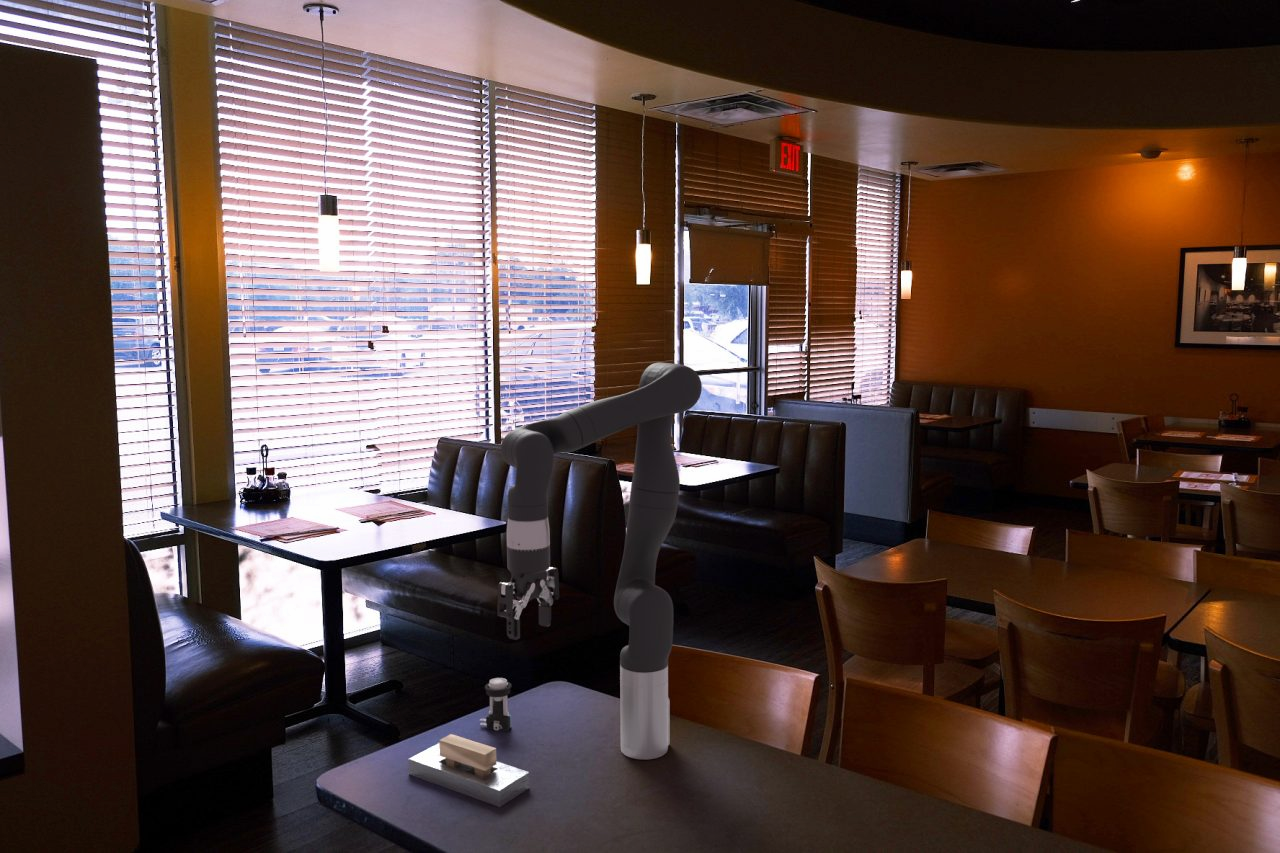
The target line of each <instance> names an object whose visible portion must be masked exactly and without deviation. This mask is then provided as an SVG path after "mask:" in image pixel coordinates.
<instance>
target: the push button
mask: <svg viewBox="0 0 1280 853" xmlns="http://www.w3.org/2000/svg"><path fill="white" fill-rule="evenodd" d="M511 689H512V683H511V682H509V681H508V679H506V678H503V677H495V678H491V679H489V682H487V683H486V684H485V686H484V690H485V692H486V695H487V696H489V711H488V715H487V716H486V717H485V718H480V719H479V722H480V721H482V722H481V723H480V724H479V725H481V726H486V729H488V730H494V731H503V732H508V731H509V730H510V728H511V727H512V715H511V714H510V712H509V711H508V695H509V694H511Z"/></svg>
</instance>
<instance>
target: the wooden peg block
mask: <svg viewBox="0 0 1280 853" xmlns="http://www.w3.org/2000/svg"><path fill="white" fill-rule="evenodd" d="M438 741H439V742H438V743H440V756H442V757H445V758H446V765H448V766H451V767H456V766H458V765H460V764H462V763H463V764H466V765H469V766H472V767H475V775H477V776H480V777H483V778H484V777H485V776H487V775H489V774H490V773H491V767H493V766H494V765H496V764H497V763H496V761H497V747H493V746H490V745H487V744H483V743H481V742H477V741H474V740H471V739H468V738H465V737H462V736H458V735H456V734H452V733H450V734H448V735H446V736H445V737H442V738H440V739H439V740H438Z"/></svg>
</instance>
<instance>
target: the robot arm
mask: <svg viewBox="0 0 1280 853" xmlns="http://www.w3.org/2000/svg"><path fill="white" fill-rule="evenodd" d="M702 387H703V384H702V380H701V378H700V376H699V374H698V373H697V372H696V371H695V369H693V368H691V367H690V366H687V365H684V364H681V363H680V364H679V363H671V362H654V363H652V364H649V366H647V367H646V368H645V370H644V371H643V373H642V374H641V376H640V380H639V385H638V388H637V389H635V390H632V391H629V392H626V393H623V394H620V395H614V396H611V397H610V396H609V397H607V398H601V399H597V400H594V401H591V402H587V403H585V404H582V405H580V406H577V407H574V408H572V409H569V410H567V411H565V412H563V413H561V414H559V415H557V416H554V417H551V418H548V419H542V420H539V421H536V422H532V423H528V424H524V425H522V426H520V427H517V428H515V429H513V430H511V431H509V433H507V434H506V435H505V436H504V437H503V439H502V441H501V444H500V455H501V457H502V459H503V461H504V462H505V463H506V464H507V465H509V466H511V467H512V468H514V469H516V471H515V472H516V473H515V481H514V482H515V483H514V484H513V485H512V486H510V488H509V489H508V491H507V524H506V559H507V560H506V562H507V563H506V564H507V565H506V567H507V570H508V571H509V572H510V574H511V578H510V580H509V582H508V581H507V582H504V581H503V582H502V581H500V582H499V583H498V584H497V613H496V614H497V617H501V618H504V619H506V634H507V638H509V639H510V640H515V641H517V640H519V639H520V638H521V619H520V616H521V614H522V612H523V609H526V607H527V605H528V603H529V602H531V601H532V600H534V599H537V602H538V603H539V604H538V625H539V626H541V627H546V628H548V627H549V626H551V622H552V606H553V604H554V601H555V600H557V601H558V600H559V598H560V582H559V581H560V580H559V569H558V567H553V566H551V545H550V544H551V539H550V535H551V534H550V533H551V532H550V523H549V499H548V493H549V488H550V485H551V480H552V475H553V469H554V465H555V464H554V463H555V459H554V458H555V454H559V453H563V454H564V453H566V454H567V453H571V452H575V451H578V450H580V449H582V448H585V447H587V446H589V445H592V444H593V443H596V442H598V441H601V440H602V439H605V438H606V437H609V436H612V435H613V434H616V433H619V432H621V431H624V430H625V429H629V428H631V427H634V426H637V434H636V435H637V437H636V445H635V454H634V455H635V456H634V463H633V474H632V479H631V487H630V495H629V502H628V515H627V516H628V517H627V521H626V530H625V538H624V539H625V540H624V547H623V548H624V549H623V555H622V559H621V564H620V569H619V574H618V577H617V578H618V579H617V581H616V587H615V590H614V591H615V592H614V597H613V607H614V612H615V614H616V616H617V618H618V619H619V620H620V621H621V622H622V623H624V624H625V625H627V626H628V627H629V629H628V630H629V633H628V636H629V637H628V645H625V646H624V647H622V649H621V651H620V654H619V658H620V659H619V670H620V671H619V672H620V673H619V675H620V676H619V680H620V681H619V683H620V684H619V685H620V695H619V696H620V700H619V701H620V702H619V703H620V704H619V705H620V710H619V711H620V713H619V714H620V751H621V753H622V754H623V755H624V756H626V757H628V758H630V759H634V760H644V761H645V760H653V759H658V758H660V757H663V756H664V755H665V754H667V752H668V749H669V746H670V743H671V742H670V738H671V737H670V727H671V726H670V721H671V719H670V716H671V715H670V710H671V709H670V707H671V704H670V702H671V701H670V698H669V657H670V654H671V652H672V650H673V649H672V648H673V638H674V604H673V600H672V598H671V596H670V595H669V593H668V592H667V591H666V590H665V589H663V588H662V587H660V586H658V585H656V569H657V561H658V556H659V552H660V550H661V547H662V545H663V543H664V541H665V540H666V538H667V536H668V535H669V532H670V530H671V528H672V527H673V525H674V522H675V520H676V516H677V511H678V506H679V505H678V504H679V503H678V502H679V495H680V487H681V484H680V481H681V480H680V476H679V475H680V474H679V469H678V465H677V460H676V457H675V453H674V449H673V445H672V425H673V418H674V415H676V414H679V413H684V412H687V411H689V410H690V409H692V408H693V407H694V406H695V405H696V404H697V403H698V401H699V399H700V397H701V394H702V391H703V390H702V389H703V388H702ZM516 598H517V600H516ZM505 605H506V606H505ZM514 608H515V610H514ZM513 610H514V611H513Z"/></svg>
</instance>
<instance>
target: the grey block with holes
mask: <svg viewBox="0 0 1280 853" xmlns="http://www.w3.org/2000/svg"><path fill="white" fill-rule="evenodd" d="M496 763H497V764H496V765H494V766H493V767H491V773H490V774H489V775H487V776H485V777H484V778H483V777H480V776H477V775H475V767H472V766H469V765H466V764H463V763H462V764H460V765H458V766H456V767H451V766H448V765H446V758H445V757H442V756H440V743H439V742H438V743H436V744H435V745H433V746H430V747H428V748H427V749H425V750H423V751H421V752H419V753H417V754H414V755H413V756H411V757H409V758H408V775H409V774H410V776H413V777H415V778H417V779H420V778H421V780H424V781H426V782H429V783H431V784H435V785H437V786H440V787H442V788H444V789H445V788H446V789H448V790H451V791H454V792H457V793H459V794H463V795H464V796H467V797H471V798H473V799H476V800H479V801H481V802H484V803H487V804H490V805H492V806H494V807H498V808H501V807H502V806H504V805H505V804H507V803H508V802H510V801H512V800H513V799H515V798H516V797H519V795H521V794H523V793H525V792H526V791H527V790H529V789H530V772H529V771H527V770H523V769H520V768H517V767H515V766H511V765H508V764H506V763H503V762H500V761H497V760H496Z"/></svg>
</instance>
